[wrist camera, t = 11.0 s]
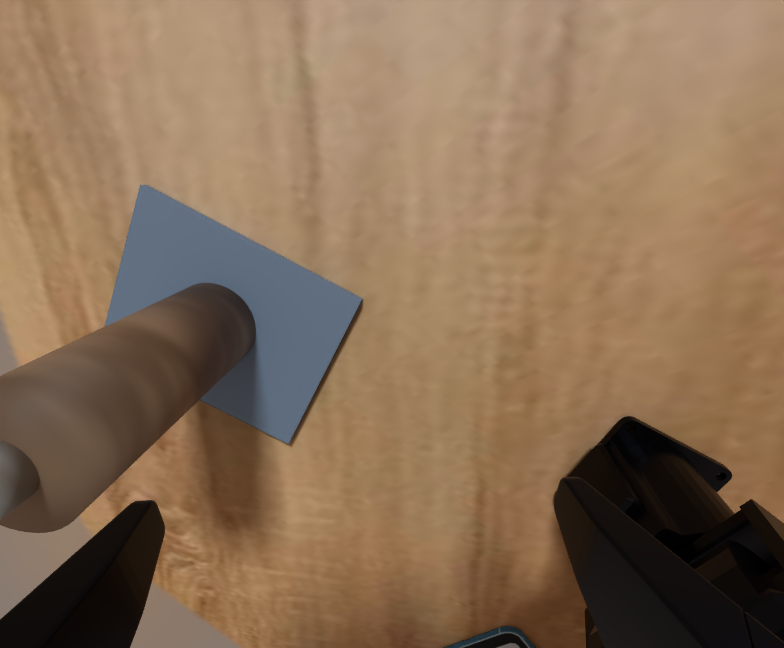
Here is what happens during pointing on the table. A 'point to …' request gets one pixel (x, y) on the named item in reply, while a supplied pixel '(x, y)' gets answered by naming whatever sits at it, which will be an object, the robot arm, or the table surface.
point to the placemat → (259, 291)
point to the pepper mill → (110, 401)
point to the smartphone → (497, 639)
